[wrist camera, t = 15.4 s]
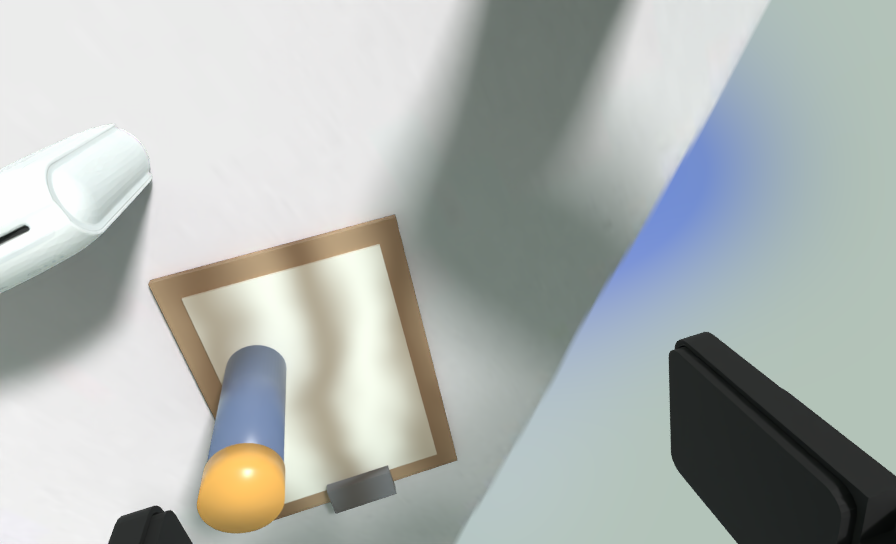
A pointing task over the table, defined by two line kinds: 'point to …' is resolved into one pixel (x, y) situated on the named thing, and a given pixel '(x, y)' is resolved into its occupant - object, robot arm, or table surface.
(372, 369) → the clipboard
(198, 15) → the table surface
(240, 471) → the cylinder
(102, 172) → the photo printer
